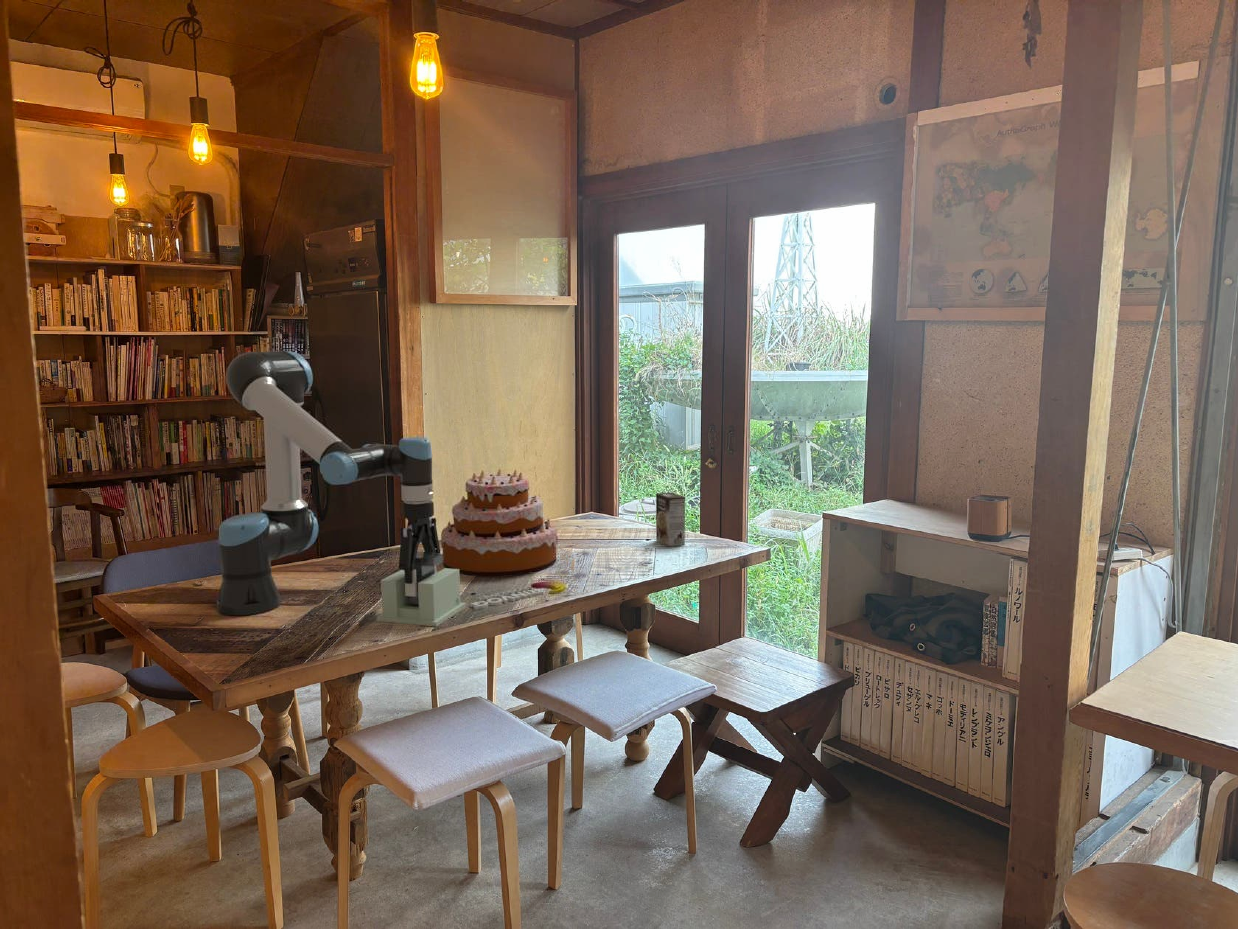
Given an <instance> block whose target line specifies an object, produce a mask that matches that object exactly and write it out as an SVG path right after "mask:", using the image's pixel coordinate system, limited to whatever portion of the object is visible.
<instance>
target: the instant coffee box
mask: <svg viewBox="0 0 1238 929" xmlns="http://www.w3.org/2000/svg"><path fill="white" fill-rule="evenodd" d="M655 512H656V513H655V516H656V518H655V521H656V524H655V526H656V527H655V531H656V532H655V533H656V535H655V536H656V537H655V538H656V540H655V541H656V542H658V543H660V544H662V545H664V546H667V547H675V546H676V547H677V546H685V540H686V538H685V537H686V536H685V534H686V532H685V531H686V529H685V528H686V496H683V495H681V494H679V493H675V492H660V493H659V492H658V493H656V494H655Z"/></svg>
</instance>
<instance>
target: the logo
mask: <svg viewBox="0 0 1238 929" xmlns="http://www.w3.org/2000/svg"><path fill="white" fill-rule="evenodd" d="M540 588H541V589H543V588H546V589H548V588H550V590H549V591H548V594H549V595H553V594H555V595H556V594H560V593H563V592H565V591H566V584H565V583H562V582H559V581H538V582H534V583H531V585H528V586H524V587H523V586H522V587H520V588H515V589H510V590H508V591H507V590H506V591H502V592H497V593H492V594H489V596H488V595H483V596H479V598H478V601H475V602H470V607H471V608H473V609H474V611H478V610H480V609H481V610H482V609H486V608H488V607H489V606H500V605H502V604H503V603H504V604H508V603H509V601H510V602H516V601H520V600H521V599H525V600H526V599H528V598H533V597H539V596H542V595H544V591H543V590H539V589H540ZM529 589H530V590H529ZM551 589H552V590H551ZM526 591H527V592H526Z"/></svg>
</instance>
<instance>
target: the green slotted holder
mask: <svg viewBox="0 0 1238 929" xmlns="http://www.w3.org/2000/svg"><path fill="white" fill-rule="evenodd" d="M460 575H461V574H459V569H448V568H445V567H444V568H443V569H441V570H439V571H436V573H435V574H434V575H432V576H430V577H428V578H426V579H424V580H423V581H421V582H419V583H418V595H419V607H411V606H409V602H408V596H406V595H405V572H404V570H400V569H399V570H398V571H396V572H394V573H392V574H390V575H388V576H386V577H384V578H382V579H381V580H380V593H381V611H382V612H381V614H380V615H378V616H376V622H384V623H394V624H396V623H397V624H407V625H418V626H430V627H438V626H440V625H441V624H442V623H444V622H445V621H447V620H448V619H450V618H451V617H453V616H454V615H456V614H457V613H459V612H460V611H462V610H464V609H465V608H466V607H467V603H466V602H461V580H460Z"/></svg>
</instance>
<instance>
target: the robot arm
mask: <svg viewBox="0 0 1238 929" xmlns="http://www.w3.org/2000/svg"><path fill="white" fill-rule="evenodd" d="M313 378H314V377H313V371H312V368H311V366H310V364H309V362H308V361H307V359H305V358H304V356H303V355H301V354H300V353H297V352H294V351H288V350H272V351H270V350H269V351H248V352H244V353H241V354H239V355H237V356H236V357H235V358H233V360H231V362H230V363H229V365H228V367H227V369H226V372H225V382H226V386H227V388H228V390H229V392H230V394H231V395H232V397H233V398H234V399H235V400H236V401H237V402H238V403H239V404H240V405H242V406H243V407H244V408H245V409H246V410H249V411H255V412H257V413H258V414H259V415H260V416H261V417H262V418H263V433H264V434H263V435H264V455H265V458H264V459H265V477H266V478H265V479H266V496H267V497H266V498H267V499H266V501H265V502H264V503H263V504H262V505H261V512H247V513H244V514H242V513H241V514H237V515H233V516H231V517H228V518H226V519H225V520H223V521H222V522H221V524H220V525H219V528H218V533H219V534H218V535H219V536H218V543H219V553H220V564H221V576H222V577H221V578H222V579H221V585H220V587H219V588H220V589H219V592H218V595H217V596H218V597H217V600H216V611H217V612H218V613H219V614H221V615H225V616H248V615H255V614H261V613H266V612H269V611H272V610H274V609H276V608H278V607H279V606H281V603H282V602H281V594H280V591H278V587H277V585H276V583H275V580H274V578H273V574H272V563H271V561H274V560H278V559H281V558H284V557H287V556H291V555H296V554H300V553H301V552H303V551H305V550H307V549H310V547H311V546H312V545H313V544H314V543H315V541H316V539H317V538H318V533H319V523H318V519H317V517H316V516H315V514H314V512H313V511H312V510H311V509H309V505H308V504H309V503H308V502H306V501H305V500H303V497H302V477H301V476H302V474H301V473H302V472H301V451H300V450H302V451H303V452H305V453H306V454H307V455H308V456H309V457H310V458H312V459H313V460H314V461H315V462H316V463H318V464H319V471H320V474H321V475H322V478H323V479H324V481H325V482H327V483H328V484H329V485H334V486H336V485H348V484H351V483H354V482H358V481H362V480H368V479H373V478H377V477H381V476H393V477H394V476H396V477H400V483H401V485H400V486H401V488H400V489H401V500H402V501H403V502H402V503H401V507H402V508H401V511H402V514H401V515H402V517H403V518H404V519H406V520H407V526H406V527H401V528H400V530H399V531H400V548H399V558H398V569H399V571H400V570H404V572H405V595H406V596H415V597H416V596H417V582H416V570H414V565H415V560H416V555H417V552H418V551H419V550H418V549H419V545H420V544H421V545H422V548H423V550H424V551H423V552H433V553H441V547H440V546H441V545H440V541H439V534H438V529H437V518H436V517H433V516H434V515H435V511H434V510H435V507H434V504H435V503H434V501H433V499H434V491H435V489H434V488H433V487H434V484H433V453H432V445H431V444H432V443H431V440H430V439H429V438H427V437H423V436H421V437H420V436H418V437H414V436H412V437H410V436H409V437H404V438H401V439H400V440H399V442H398V443H399V444H398V445H396V444H395V445H394V444H382V443H381V444H380V443H377V442H376V443H367V444H364V445H363V446H361V447H360V448H359V447H358V448H351V447H350V446H349V445H348V444H346V443H345V442H344V441H343V440H342V439H340V438H339V437H338V436H336V435H335V434H334V433H333V432H332V431H330V430H329V429H328V428H327V427H325V425H323V424H322V423H321V422H320V421H318V420H317V419H316V418H314V417H313V416H312V415H311V414H310V413H308V411H306V410H305V409H303V407H302V406H303V405H304V404H305V401H304V400H305V397H304V395H305V394H307V393H308V392H309V391H310V388H312V385H313ZM435 573H437V565H436V566H434V574H435Z"/></svg>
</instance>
